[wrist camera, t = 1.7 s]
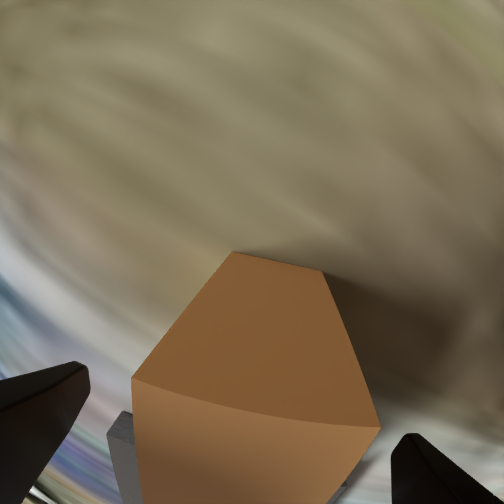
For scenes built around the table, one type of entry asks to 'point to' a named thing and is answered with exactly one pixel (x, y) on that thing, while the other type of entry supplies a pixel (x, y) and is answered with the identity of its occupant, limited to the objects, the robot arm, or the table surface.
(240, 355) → the tan rectangular block
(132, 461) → the slot rails
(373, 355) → the table surface
